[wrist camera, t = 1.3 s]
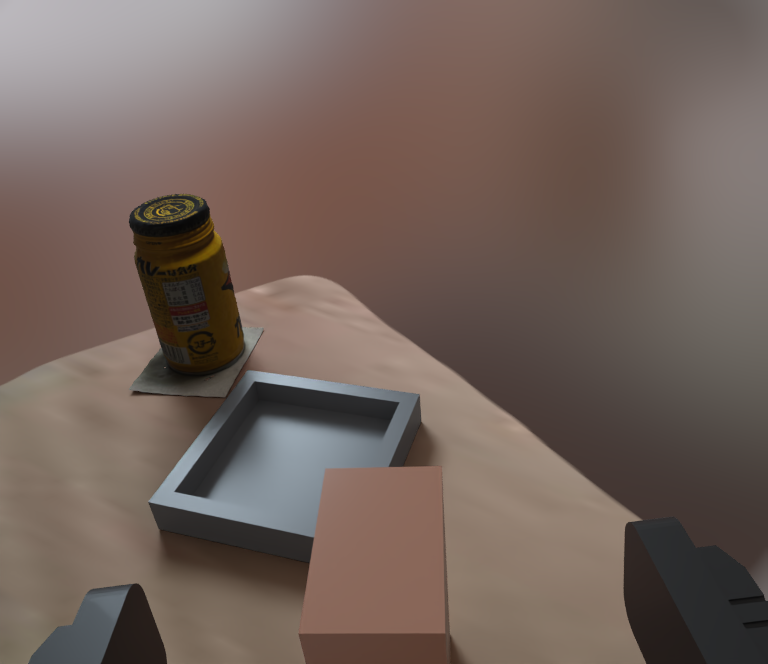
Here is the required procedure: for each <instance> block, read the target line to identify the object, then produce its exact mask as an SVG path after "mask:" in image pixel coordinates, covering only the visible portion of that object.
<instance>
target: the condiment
mask: <svg viewBox="0 0 768 664" xmlns="http://www.w3.org/2000/svg"><path fill="white" fill-rule="evenodd" d="M209 210H210V209H209V207H208V206H207V203H206V201H205V200H204V199H202V198H200V197H197V196H194V195H189V194H175V195H167V196H162V197H158V198H156V199H153V200H150V201H147V202H145V203H143V204H142V205H141V206H138V207H137V208H135V209H134V210H133V211H132V212H131V214H130V219H129V223H130V227H131V229H132V231H133V233H134V242H133V243H134V245H136V252H135V256H134V258H135V264H136V267H137V270H138V274H139V277H140V280H141V283H142V287H143V290H144V293H145V296H146V300H147V303H148V306H149V309H150V312H151V316H152V319H153V322H154V325H155V328H156V332H157V335H158V338H159V342H160V345H161V349H160V350H159V352H158V353H157V354H156V355H155V356H154V358H152V359H151V360H150V362H149V364H148V365H147V367H146V368H145V369H144V371H143V372H142V373H141V375H140V376H139V377H138V378H137V379H136V380H135V381H134V383H133V385H132V386H131V387H130V388H129V390H134V391H141V392H149V393H161V394H170V395H183V396H191V395H193V396H204V397H210V396H213V397H226V395H227V393H228V391H229V389H230V387H231V386H232V385H233V383H234V380H235V378H236V377H237V375H238V374H239V371H240V369H241V368H242V367H243V365H244V363H245V362H246V360H247V359H248V357H249V355H250V353H251V351H252V350H253V348H254V346H255V345H256V343H257V341H258V339H259V337H260V335H261V333H262V332H263V328H252V327H249V328H246V327H242V325H241V319H240V316H239V312H238V308H237V302H236V298H235V295H234V290H233V285H232V282H231V278H230V272H229V268H228V264H227V259H226V256H225V250H224V247H223V243H222V240H221V237H220V236H219V235H218V234H217V233H216V232H215V231H214V224H213V221H212V219H211V217H210V211H209ZM164 367H166V368H164ZM213 375H214V377H211V376H213ZM207 378H210V379H208V380H205V379H207Z"/></svg>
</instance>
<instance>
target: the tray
mask: <svg viewBox="0 0 768 664" xmlns="http://www.w3.org/2000/svg"><path fill="white" fill-rule="evenodd" d="M420 423H421V408H420V394H414V393H406V392H399V391H392V390H385V389H378V388H371V387H364V386H357V385H350V384H343V383H336V382H329V381H322V380H315V379H308V378H301V377H294V376H286V375H279V374H272V373H265V372H258V371H251V370H248V371H247V372H246V373H245V375H244V376H243V377H242V379H241V380H240V381H239V383H238V384H237V385H236V387H235V388H234V389H233V391H232V392H231V393H230V395H229V396H228V397H227V399H226V400H225V401H224V403H223V404H222V405H221V407H220V408H219V409H218V411H217V412H216V413H215V415H214V416H213V417H212V418H211V420H210V421H209V422H208V424H207V425H206V426H205V428H204V429H203V430H202V432H201V433H200V434H199V436H198V437H197V438H196V440H195V441H194V442H193V444H192V445H191V446H190V448H189V449H188V450H187V452H186V453H185V454H184V456H183V457H182V458H181V460H180V461H179V462H178V463H177V465H176V466H175V467H174V469H173V470H172V471H171V473H170V474H169V475H168V477H167V478H166V479H165V481H164V482H163V483H162V485H161V486H160V487H159V489H158V490H157V491H156V493H155V494H154V495H153V497H152V498H151V499H150V501H149V502H148V503H149V505H150V508H151V510H152V513H153V515H154V518H155V521H156V523H157V526H158V528H159V529H161V530H165V531H170V532H174V533H179V534H183V535H188V536H192V537H196V538H201V539H205V540H210V541H214V542H219V543H223V544H228V545H232V546H236V547H241V548H245V549H250V550H254V551H259V552H263V553H268V554H272V555H276V556H281V557H285V558H290V559H294V560H299V561H303V562H308V563H310V560H311V554H312V548H313V541H314V535H315V529H316V523H317V517H318V511H319V505H320V498H321V492H322V486H323V480H324V474H325V468H372V467H403V465H404V462H405V460H406V457H407V455H408V452H409V450H410V448H411V445H412V443H413V440H414V438H415V435H416V433H417V430H418V428H419V425H420Z"/></svg>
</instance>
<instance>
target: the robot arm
mask: <svg viewBox="0 0 768 664" xmlns="http://www.w3.org/2000/svg"><path fill="white" fill-rule="evenodd" d="M624 601H625V607H626V612H627V616H628V620H629V623H630V626H631V629H632V631H633V634H634V636H635V639H636V641H637V643H638V645H639V648H640V650H641V652H642V655H643V657H644V659H645V661H646V664H768V601H765V598H764V594H763V593H762V591H761V590H760V589H759V587H758V586H757V584H756V583H755V581H754V580H753V578H752V577H751V576H750V574H749V573H748V571H747V570H746V568H745V567H744V566H742V565H741V564H740V563H738V562H737V561H736V560H735V559H733V558H732V557H731V556H729V555H728V554H727V553H725V552H724V551H723V550H721V549H720V548H719V547H717V546H716V545H715V546H708V547H700V548H696V547H695V546H694V544H693V542H692V541H691V539H690V538H689V536H688V535H687V533H686V531H685V529H684V528H683V526H682V525H681V523H680V522H679V521H678V519H676V518H675V517H667V518H658V519H651V520H643V521H635V522H628V523H627V524H626V527H625V547H624ZM28 664H167V659H166V652H165V648H164V645H163V642H162V639H161V636H160V634H159V631H158V628H157V626H156V623H155V620H154V617H153V615H152V612H151V609H150V607H149V604H148V601H147V598H146V596H145V593H144V591H143V589H142V587H141V586H140V585H139V584H128V585H120V586H112V587H105V588H97V589H92V590H90V591H89V592H88V593H87V594H86V596H85V598H84V600H83V602H82V604H81V606H80V609H79V611H78V613H77V615H76V618H75V620H74V622H73V624H72V625H69V626H61V627H57V628H56V630H55V631H54V632H53V633H52V634H51V635H50V636H49V637H48V638H47V640H46V641H45V642H44V643H43V644H42V645H41V646H40V647H39V648H38V650H37V651H36V652H35V653H34V654H33V655H32V657H31V659H30V661H29V663H28Z"/></svg>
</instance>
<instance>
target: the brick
mask: <svg viewBox="0 0 768 664" xmlns="http://www.w3.org/2000/svg"><path fill="white" fill-rule="evenodd" d="M299 637H300V641H301V645H302V649H303V653H304V657H305V661H306V664H451V655H450V625H449V605H448V584H447V564H446V544H445V523H444V503H443V483H442V466H419V467H372V468H325V474H324V480H323V486H322V492H321V498H320V505H319V511H318V517H317V523H316V529H315V535H314V541H313V548H312V554H311V560H310V566H309V572H308V578H307V584H306V591H305V597H304V603H303V609H302V615H301V621H300V628H299Z"/></svg>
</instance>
